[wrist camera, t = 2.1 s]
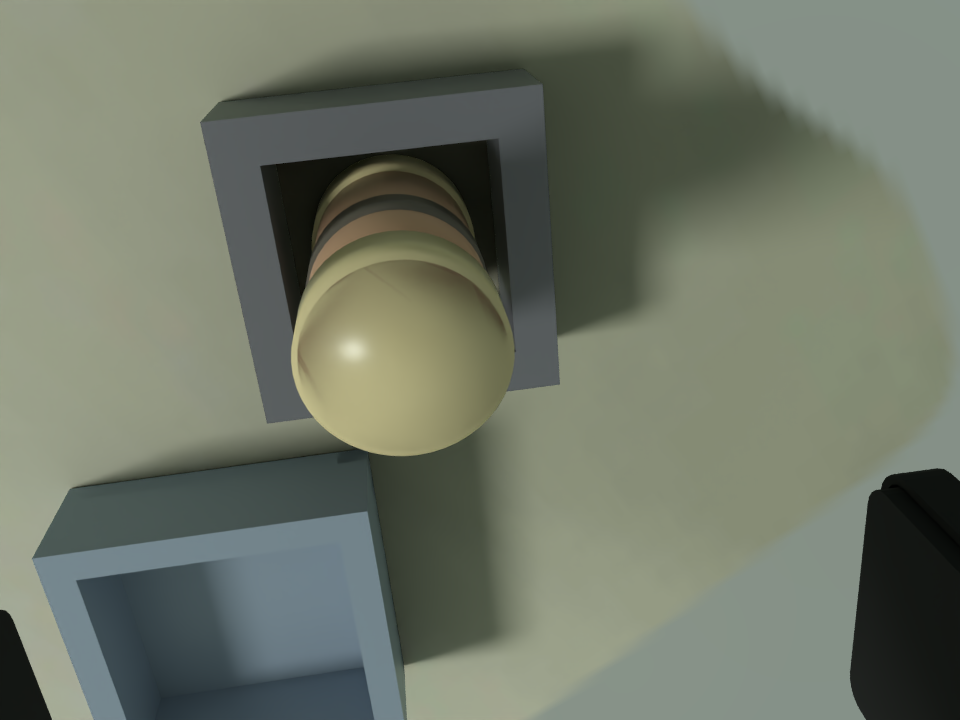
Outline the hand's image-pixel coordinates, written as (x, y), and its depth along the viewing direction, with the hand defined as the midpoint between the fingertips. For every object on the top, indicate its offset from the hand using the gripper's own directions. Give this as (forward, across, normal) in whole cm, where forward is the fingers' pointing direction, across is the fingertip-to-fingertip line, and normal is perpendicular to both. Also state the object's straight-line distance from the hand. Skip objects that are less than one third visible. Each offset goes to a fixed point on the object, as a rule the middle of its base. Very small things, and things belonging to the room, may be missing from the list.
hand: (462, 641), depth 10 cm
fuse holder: (+14, 0, -1) cm, 14 cm away
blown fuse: (+14, 0, -1) cm, 14 cm away
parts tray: (+14, +6, +9) cm, 18 cm away
